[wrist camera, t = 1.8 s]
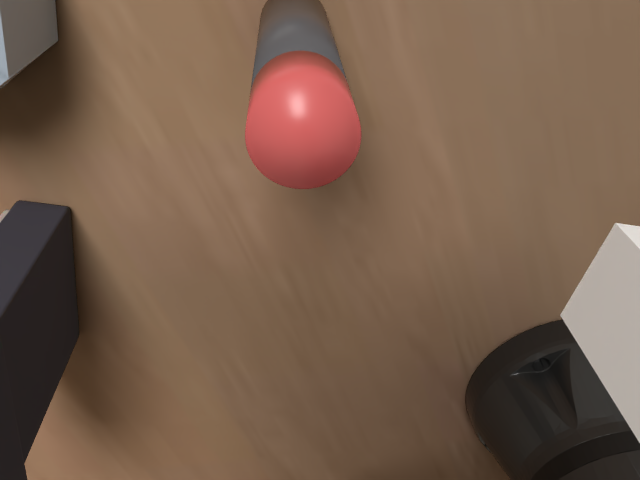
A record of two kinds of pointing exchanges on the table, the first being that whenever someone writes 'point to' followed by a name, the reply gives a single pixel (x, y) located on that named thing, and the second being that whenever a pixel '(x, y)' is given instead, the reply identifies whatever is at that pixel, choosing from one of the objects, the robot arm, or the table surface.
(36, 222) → the grey and red block
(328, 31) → the marker
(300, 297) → the table surface
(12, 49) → the pen cup
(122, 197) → the table surface
